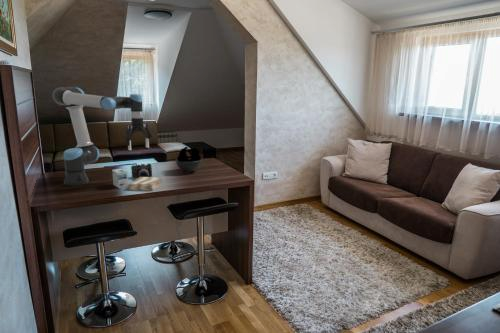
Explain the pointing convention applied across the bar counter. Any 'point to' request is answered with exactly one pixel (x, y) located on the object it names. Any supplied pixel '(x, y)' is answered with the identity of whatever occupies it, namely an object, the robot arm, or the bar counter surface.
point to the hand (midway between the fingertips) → (138, 148)
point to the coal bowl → (188, 160)
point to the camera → (141, 170)
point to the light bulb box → (120, 178)
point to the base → (145, 183)
